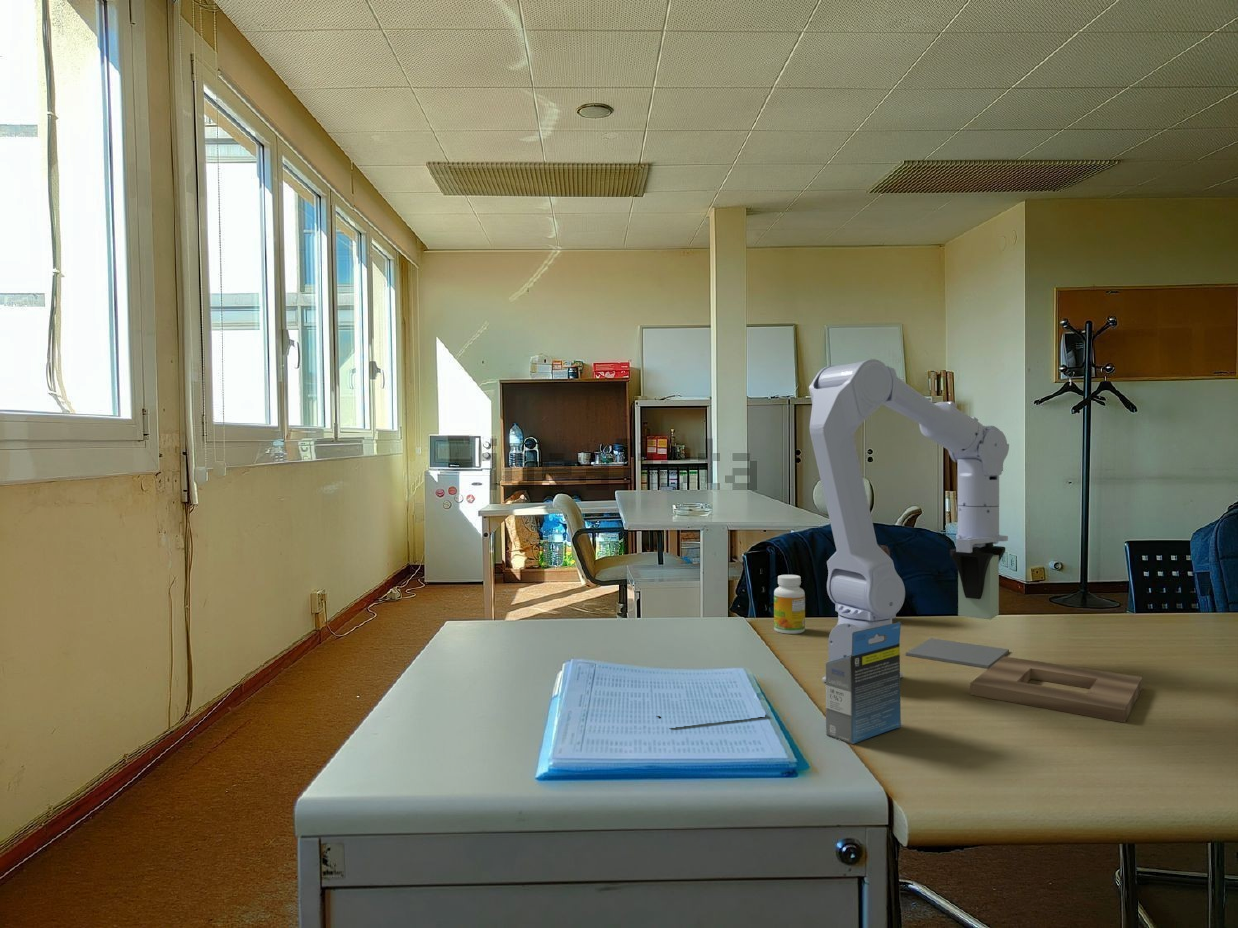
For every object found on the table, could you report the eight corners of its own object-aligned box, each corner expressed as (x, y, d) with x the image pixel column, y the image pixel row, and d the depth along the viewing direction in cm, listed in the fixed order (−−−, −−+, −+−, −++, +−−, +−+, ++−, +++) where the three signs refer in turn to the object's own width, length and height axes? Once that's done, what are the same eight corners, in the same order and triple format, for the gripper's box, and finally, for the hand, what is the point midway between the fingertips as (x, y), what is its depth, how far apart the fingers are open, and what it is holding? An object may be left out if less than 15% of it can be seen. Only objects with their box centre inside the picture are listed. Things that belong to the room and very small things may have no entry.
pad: (988, 668, 114) (988, 665, 114) (905, 655, 121) (905, 652, 121) (1009, 651, 123) (1009, 649, 123) (931, 640, 131) (931, 638, 131)
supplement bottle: (767, 629, 140) (767, 575, 140) (792, 626, 142) (792, 573, 142) (786, 635, 135) (786, 579, 135) (811, 632, 137) (811, 577, 137)
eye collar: (1124, 722, 91) (1124, 709, 91) (970, 694, 102) (970, 683, 102) (1142, 688, 104) (1142, 676, 104) (1003, 666, 115) (1003, 656, 115)
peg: (990, 619, 114) (990, 558, 114) (958, 615, 117) (958, 555, 117) (998, 614, 118) (998, 555, 118) (967, 610, 121) (967, 552, 120)
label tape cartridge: (873, 718, 93) (873, 615, 93) (902, 728, 90) (902, 621, 89) (824, 735, 88) (824, 625, 87) (853, 745, 84) (852, 632, 84)
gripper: (993, 509, 109) (993, 606, 109) (1019, 503, 120) (1019, 591, 120) (941, 507, 114) (941, 600, 114) (971, 502, 125) (971, 586, 125)
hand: (978, 595), depth 117 cm, fingers closed on peg, 4 cm apart
